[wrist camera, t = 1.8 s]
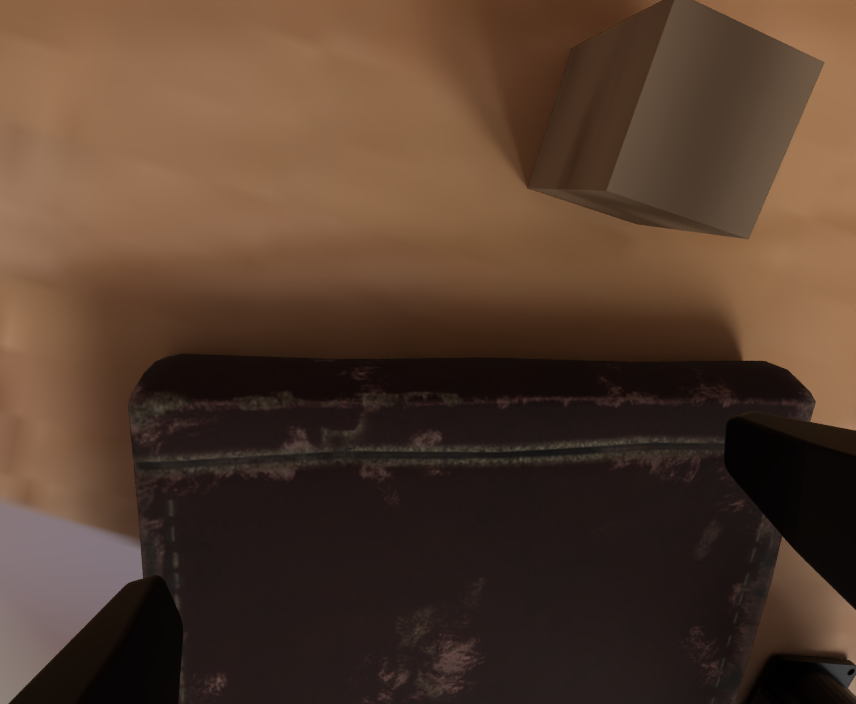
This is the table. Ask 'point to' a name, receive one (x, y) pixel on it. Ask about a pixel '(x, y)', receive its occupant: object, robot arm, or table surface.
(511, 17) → the table surface
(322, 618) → the diary
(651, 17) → the metal block
